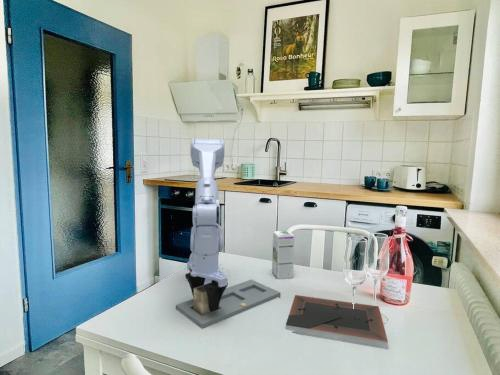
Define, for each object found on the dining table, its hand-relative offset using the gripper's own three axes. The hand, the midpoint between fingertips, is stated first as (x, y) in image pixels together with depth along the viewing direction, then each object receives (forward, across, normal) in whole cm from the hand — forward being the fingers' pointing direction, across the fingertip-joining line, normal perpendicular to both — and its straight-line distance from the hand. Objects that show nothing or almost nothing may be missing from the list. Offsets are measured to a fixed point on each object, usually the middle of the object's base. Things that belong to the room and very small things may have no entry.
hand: (205, 305), depth 80 cm
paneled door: (+2, 0, +8) cm, 8 cm away
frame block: (+2, 0, 0) cm, 2 cm away
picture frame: (+3, +23, +22) cm, 32 cm away
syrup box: (+2, -5, +34) cm, 34 cm away
